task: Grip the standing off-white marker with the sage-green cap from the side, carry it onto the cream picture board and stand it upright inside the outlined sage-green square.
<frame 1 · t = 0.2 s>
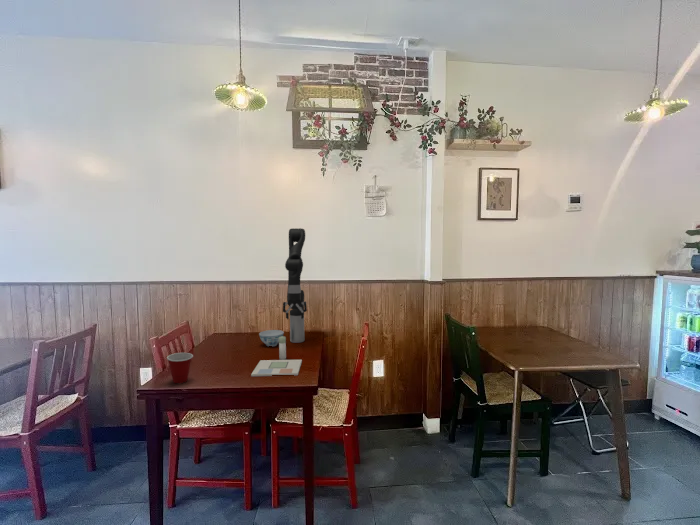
hand: (294, 318, 210), 17 cm above the table, tool pointing down, fingers open, 8 cm apart
marker: (282, 358, 190), on the table
picture board: (278, 368, 175), on the table
chinaware: (271, 345, 216), on the table
plastic cup: (180, 381, 159), on the table
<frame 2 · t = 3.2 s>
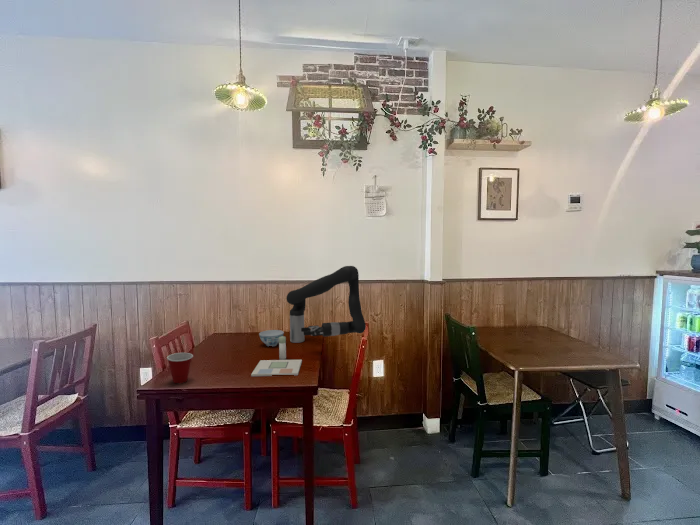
hand: (302, 331, 192), 14 cm above the table, tool horizontal, fingers open, 8 cm apart
nothing on the table moved.
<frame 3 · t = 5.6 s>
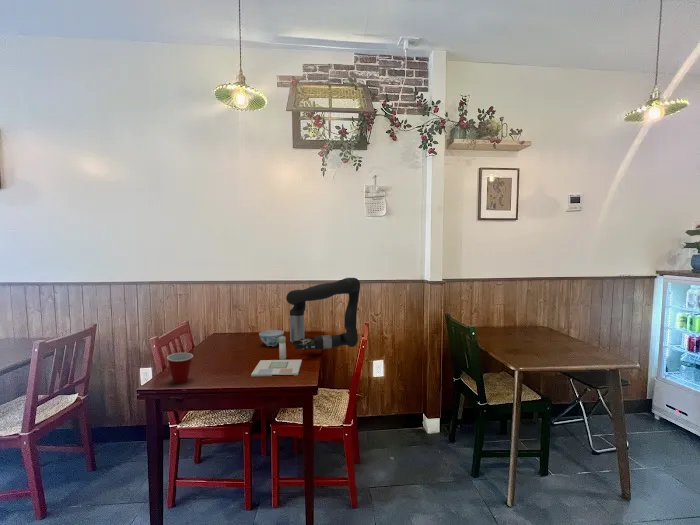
hand: (293, 345, 191), 7 cm above the table, tool horizontal, fingers open, 8 cm apart
nothing on the table moved.
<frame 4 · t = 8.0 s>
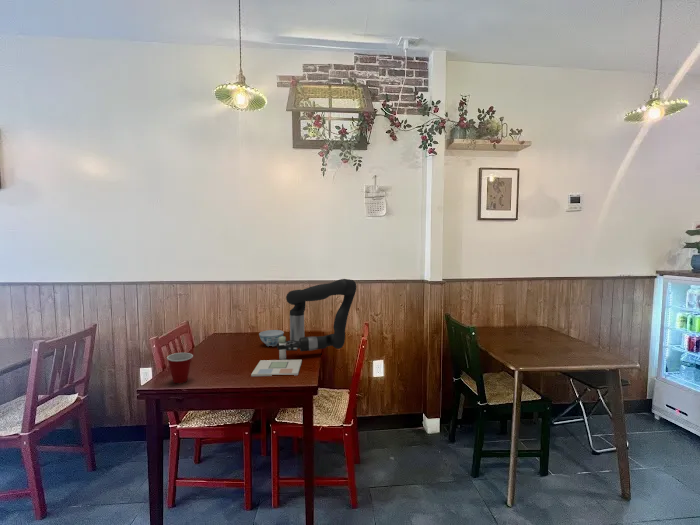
hand: (277, 346, 188), 7 cm above the table, tool horizontal, fingers closed on marker, 3 cm apart
marker: (282, 358, 190), on the table, touching gripper
everything else where it was.
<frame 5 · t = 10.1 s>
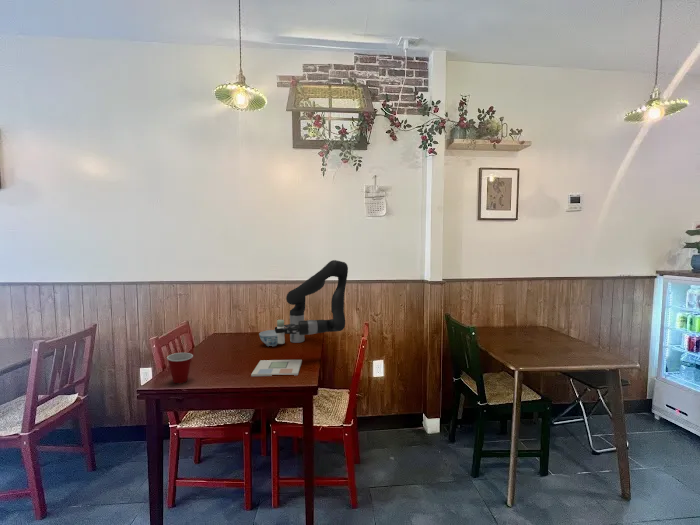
hand: (275, 330, 180), 18 cm above the table, tool horizontal, fingers closed on marker, 3 cm apart
marker: (281, 342, 181), point 11 cm above the table, touching gripper
everything else where it was.
when the fingers open (10 cm above the table, at t = 12.5 s): marker drops 1 cm, resting on picture board.
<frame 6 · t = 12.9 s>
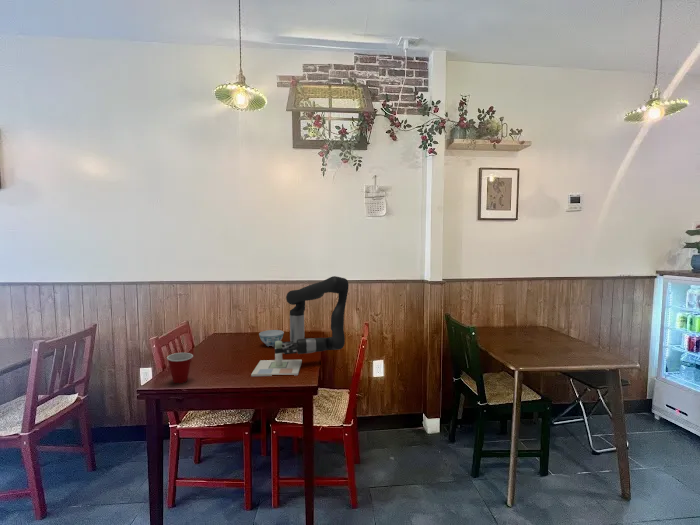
hand: (274, 348, 176), 10 cm above the table, tool horizontal, fingers open, 7 cm apart
marker: (278, 364, 177), point 1 cm above the table, touching picture board
everything else where it was.
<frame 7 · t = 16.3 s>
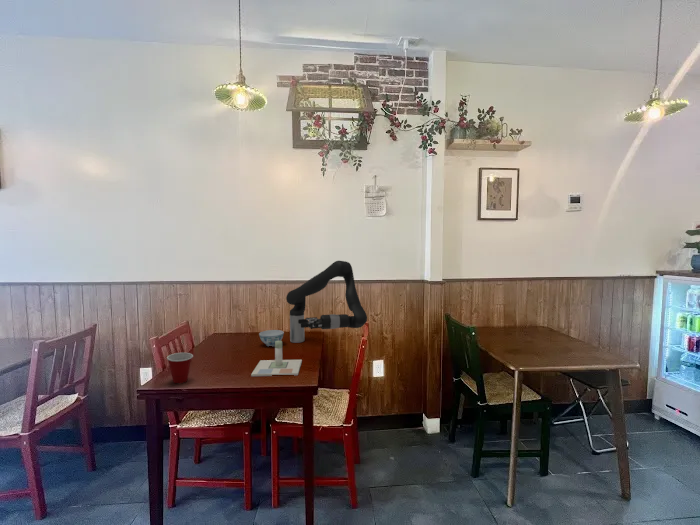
hand: (299, 323, 179), 22 cm above the table, tool horizontal, fingers open, 8 cm apart
nothing on the table moved.
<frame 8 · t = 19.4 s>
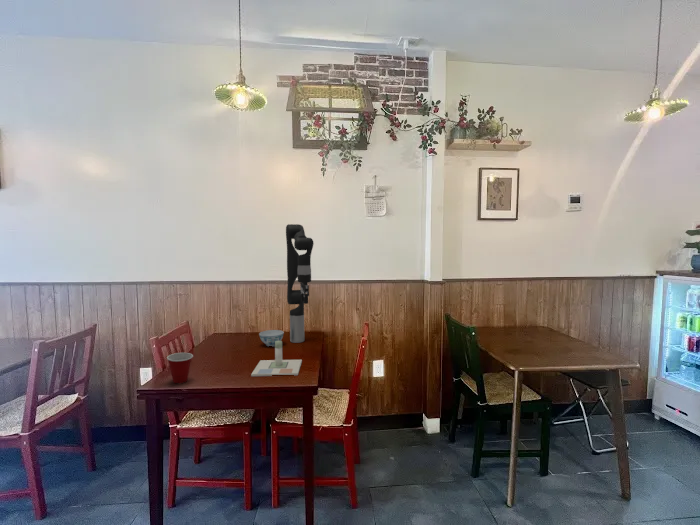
hand: (304, 302, 194), 30 cm above the table, tool pointing down, fingers open, 8 cm apart
nothing on the table moved.
at the end: marker inside the target area on the picture board (0.1 cm from its centre), point 1.1 cm above the picture board's base; marker tilted 1°; the gripper is holding nothing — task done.
